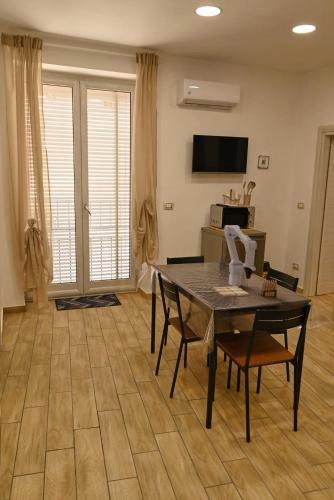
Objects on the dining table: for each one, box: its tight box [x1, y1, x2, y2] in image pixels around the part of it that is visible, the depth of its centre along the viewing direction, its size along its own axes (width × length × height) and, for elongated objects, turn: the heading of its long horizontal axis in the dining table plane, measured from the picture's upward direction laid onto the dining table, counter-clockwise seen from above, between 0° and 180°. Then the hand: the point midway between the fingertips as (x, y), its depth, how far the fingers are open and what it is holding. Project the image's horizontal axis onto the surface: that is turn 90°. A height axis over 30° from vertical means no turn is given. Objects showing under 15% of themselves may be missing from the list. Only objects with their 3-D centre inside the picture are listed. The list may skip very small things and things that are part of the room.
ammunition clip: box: [260, 279, 278, 298], centre depth 260 cm, size 11×2×12 cm, turn 109°
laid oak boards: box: [212, 286, 238, 298], centre depth 264 cm, size 18×9×2 cm, turn 15°
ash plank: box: [226, 286, 250, 297], centre depth 266 cm, size 18×8×2 cm, turn 15°
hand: (248, 278), depth 269 cm, fingers closed
